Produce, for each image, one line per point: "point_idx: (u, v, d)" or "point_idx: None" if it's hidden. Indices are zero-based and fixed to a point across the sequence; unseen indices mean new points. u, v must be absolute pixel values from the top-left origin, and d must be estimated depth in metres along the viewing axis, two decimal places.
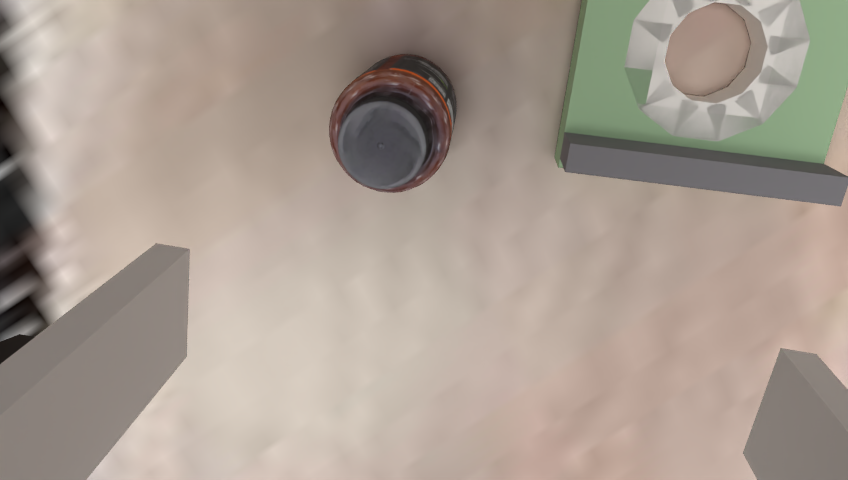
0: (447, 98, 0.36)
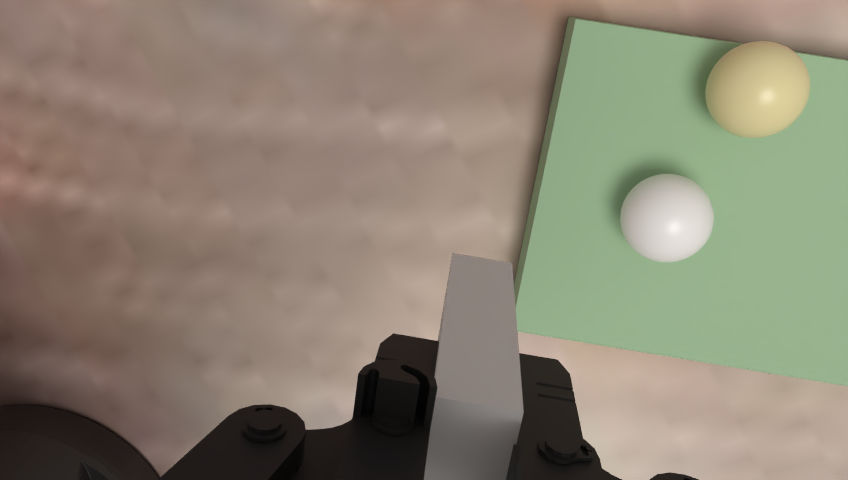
0: None
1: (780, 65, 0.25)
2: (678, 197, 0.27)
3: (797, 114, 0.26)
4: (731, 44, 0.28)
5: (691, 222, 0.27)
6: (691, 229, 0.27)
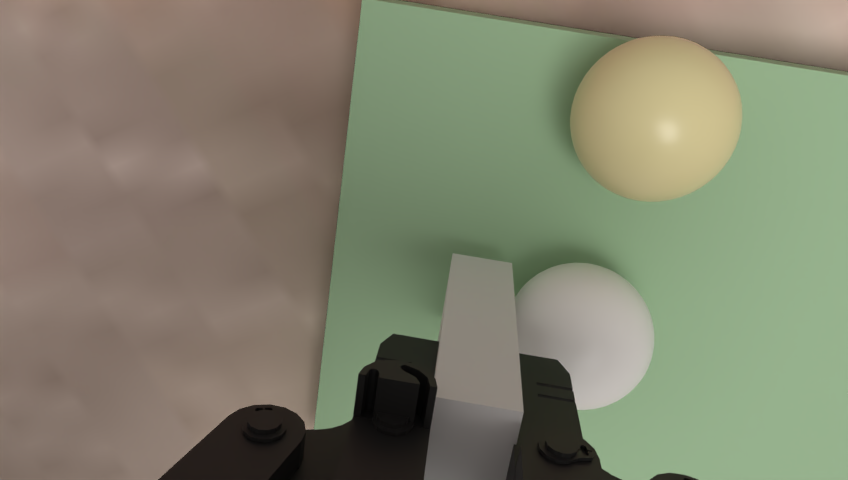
0: None
1: (683, 80, 0.14)
2: (630, 312, 0.16)
3: (718, 165, 0.15)
4: (619, 41, 0.17)
5: (651, 345, 0.17)
6: (651, 355, 0.17)
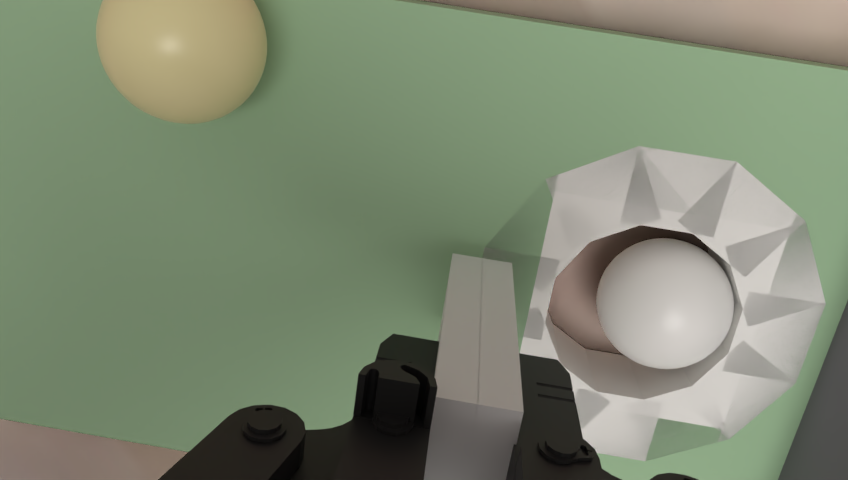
0: None
1: None
2: None
3: (219, 81, 0.15)
4: None
5: None
6: None
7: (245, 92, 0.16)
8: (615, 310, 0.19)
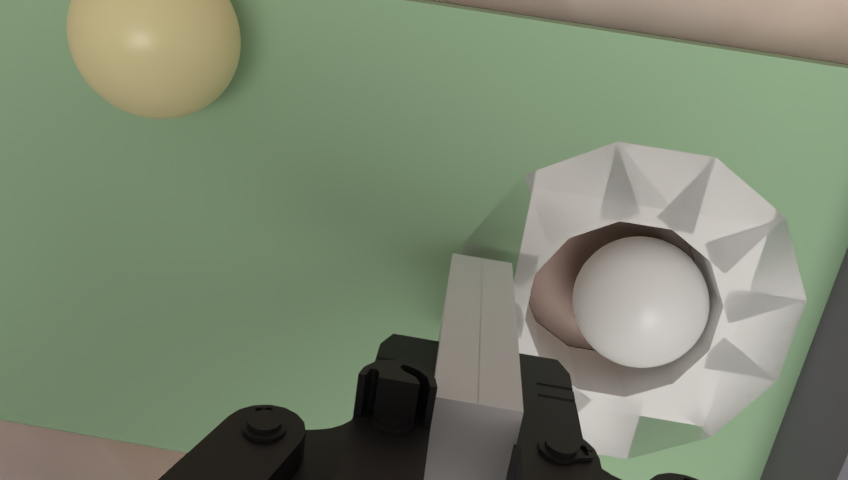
0: None
1: None
2: None
3: (190, 76, 0.15)
4: None
5: None
6: None
7: (218, 87, 0.16)
8: (586, 308, 0.19)
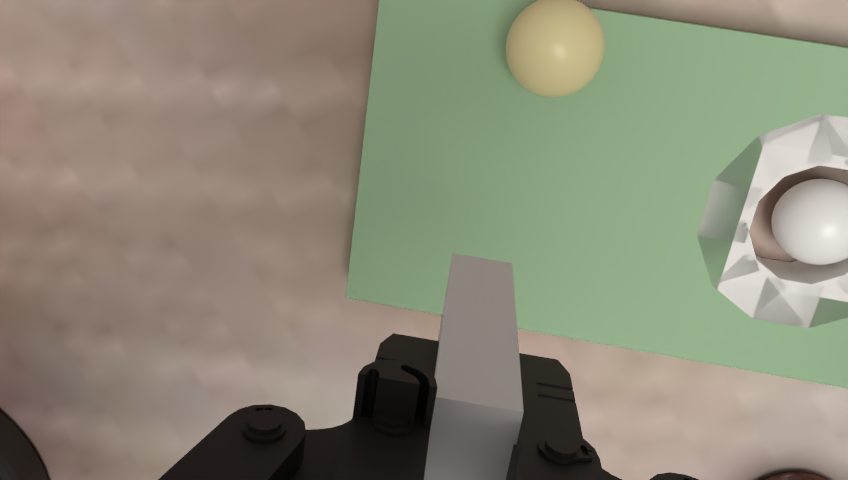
0: None
1: (563, 20, 0.24)
2: None
3: (588, 71, 0.25)
4: None
5: None
6: None
7: (592, 78, 0.26)
8: (786, 223, 0.29)
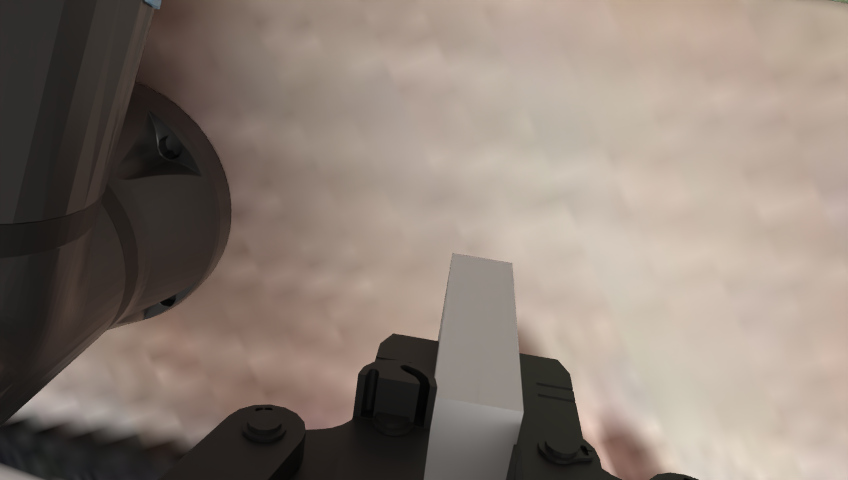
0: None
1: None
2: None
3: None
4: None
5: None
6: None
7: None
8: None
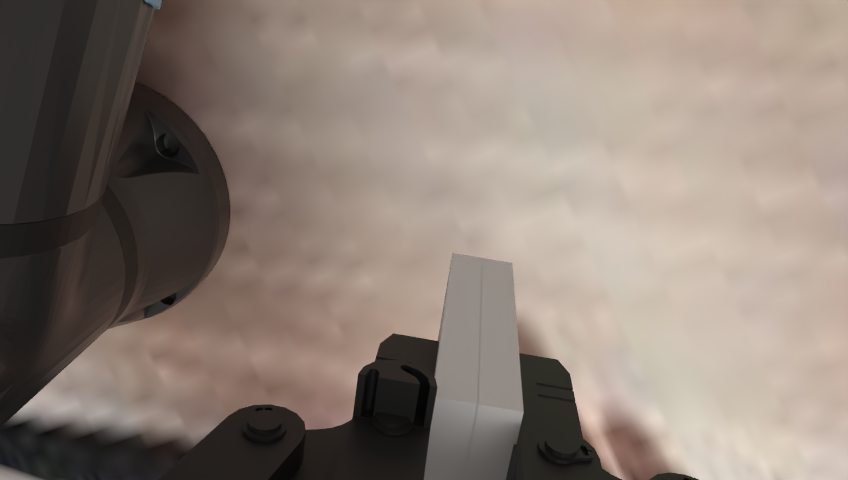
0: None
1: None
2: None
3: None
4: None
5: None
6: None
7: None
8: None
